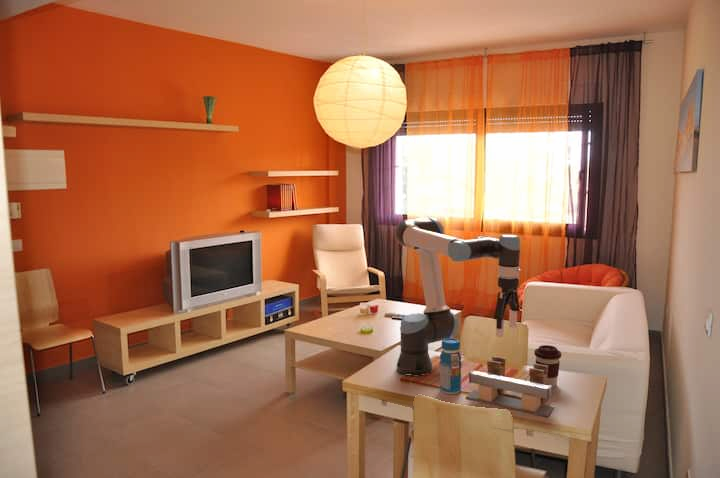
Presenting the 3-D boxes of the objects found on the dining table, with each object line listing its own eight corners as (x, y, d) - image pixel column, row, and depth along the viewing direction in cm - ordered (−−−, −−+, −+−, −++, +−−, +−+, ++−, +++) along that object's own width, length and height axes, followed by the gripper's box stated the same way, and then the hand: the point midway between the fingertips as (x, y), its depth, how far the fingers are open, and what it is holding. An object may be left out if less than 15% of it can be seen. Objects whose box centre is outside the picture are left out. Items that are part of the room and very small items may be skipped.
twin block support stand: (465, 398, 206) (465, 384, 205) (473, 391, 213) (474, 377, 212) (547, 417, 190) (548, 401, 189) (553, 408, 196) (554, 393, 195)
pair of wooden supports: (485, 391, 212) (486, 360, 210) (491, 386, 217) (491, 355, 215) (543, 404, 200) (544, 371, 198) (548, 398, 205) (549, 366, 203)
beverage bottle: (437, 393, 211) (437, 342, 209) (442, 384, 219) (442, 336, 217) (459, 396, 208) (459, 344, 206) (463, 387, 216) (463, 338, 213)
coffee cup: (531, 386, 216) (532, 349, 214) (536, 378, 225) (537, 342, 223) (558, 391, 211) (559, 353, 209) (561, 382, 220) (563, 345, 218)
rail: (469, 382, 207) (469, 372, 206) (472, 379, 210) (473, 369, 209) (548, 399, 191) (549, 388, 190) (551, 395, 194) (551, 385, 193)
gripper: (506, 284, 192) (503, 343, 195) (529, 272, 212) (527, 325, 215) (485, 281, 196) (483, 339, 200) (510, 269, 217) (508, 321, 220)
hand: (506, 332), depth 208 cm, fingers open, 13 cm apart
